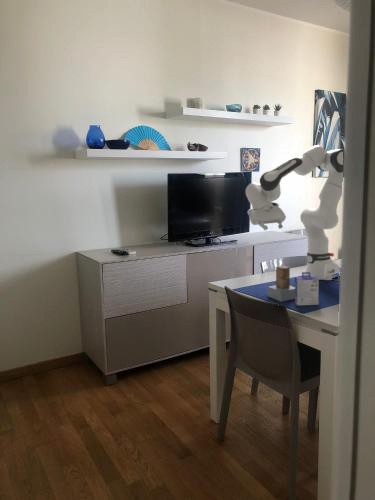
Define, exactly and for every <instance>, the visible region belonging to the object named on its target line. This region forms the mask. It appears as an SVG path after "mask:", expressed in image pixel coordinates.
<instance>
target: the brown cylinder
mask: <svg viewBox="0 0 375 500" xmlns="http://www.w3.org/2000/svg"><path fill="white" fill-rule="evenodd" d="M290 269H291V267H290V266H285V265H280V266H276V267H275V285H276V287H277V288H280V289H286V288H290V286H291V285H290V284H291V283H290V277H291V276H290V275H291V273H290V272H291V271H290Z"/></svg>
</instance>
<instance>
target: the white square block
mask: <svg viewBox="0 0 375 500" xmlns="http://www.w3.org/2000/svg"><path fill="white" fill-rule="evenodd" d="M267 297H269V298H271V299H273V300H275V301H278V302H281V303H282V302H287V301H291V300H295V286H292V285H290V288H286V289H280V288H277V287H276V284H275V285H270V286H268V287H267Z"/></svg>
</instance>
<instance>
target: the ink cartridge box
mask: <svg viewBox="0 0 375 500" xmlns="http://www.w3.org/2000/svg"><path fill="white" fill-rule="evenodd" d="M305 274H309V275H305ZM319 282H320V281H319V279H318V278H317V277H311V276H310V272H306V271H305V272H301V276H298V277H294V284H295V285H294V287H295V299H294V303H295V305H296V306H318V305H319V286H320V285H319V284H320V283H319Z"/></svg>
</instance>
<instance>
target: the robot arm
mask: <svg viewBox="0 0 375 500" xmlns="http://www.w3.org/2000/svg"><path fill="white" fill-rule="evenodd" d="M344 150H345V149H343V148H338V149H337V148H336V149H331V150H328V151H326V150H325V148H324V147H323V146H321V145H317V144H316V145H313V146H311V147H309V148H308V149H306V150H305V151H303V152H302V153H301V154H299V155H298V156H294V157H291V158H290V159H287V160H286V161H284V162H283V163H281V164H280V165H279V166H277V167H275V168H273V169H271V170H268V171H265V172H264V173H263V174H261V176H260V178H259V183H257V182H251V183H249V184H248V185H247V186H246V188H245V196H246V198H247V200H248V202H249V204H250V205H251V207H252V208H249V209H248V210H247V212H246V213H247V215H248V217H249V221H250V223H251V224H252V225H254V226H257V225H258V226H259V227H260V228H262V229H263V231H267V230H268V229H269V228H268V226H267V225H268V224H276V223H277V224H278V226H277V227H278V229H283V228H284V225H283V222H284V221H285V220H286V218H287V215H286V214H285V212H284V211H283V210H282V208H280V205H279V203H277V202H274V201H277V200H278V199H280V196H281V193H282V192H281V185H280V183H281V181H282V179H283V178H284V177H286V176H288V175H289V174H291V173H293V172H294V173H296V174H297V175H299V176H303V177H304V176H306V175H308V174H310V173H311V172H313V171H314V170H315V169H318V170H320V171H322V172H328V176H327V179H326V181H325V183H324V184H323V186H322V189H321V190H320V193H319V194H318V198H319V200H320V201H319V207H317V208H315V207H309V208H306V209H303V210H302V212H301V213H300V217H299V218H300V221H301V223H302V225H303V226H304V228H305V229H304V230H305V232H306V237H307V253H306V267H305V268H306V269H305V272H310V276H311V277H317V278H318V279H319V280H322V281H324V280H325V281H331V280H333V279H332V278H333V277H332V275H334V274H336V273H339V276H340V272H341V271H340V269H341V268H340V265H339V264H338V263H337V262H336V261H334V260H333V259H332V258H331V257H334V256H335V253H334V252H329V238H328V236H327V235H326V232H325V230H331V229H332V230H333V229H334V228H336V227H337V225H338V223H339V215H338V212H337V209H338V204H339V202H340V200H341V198H342V196H343V194H342V182H343V152H344ZM266 224H267V225H266ZM305 275H309V274H304V276H305Z"/></svg>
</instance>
